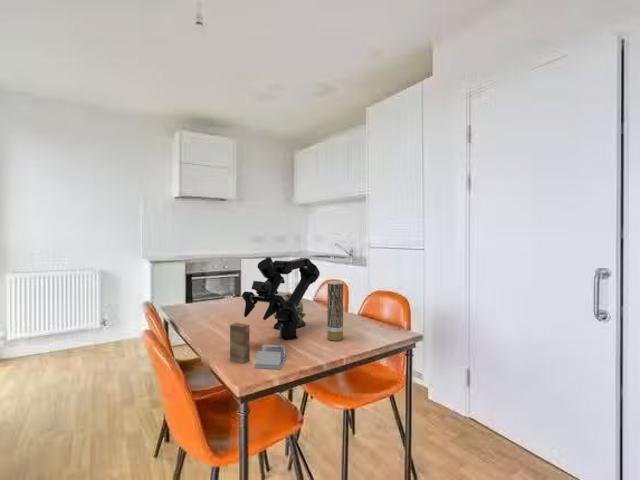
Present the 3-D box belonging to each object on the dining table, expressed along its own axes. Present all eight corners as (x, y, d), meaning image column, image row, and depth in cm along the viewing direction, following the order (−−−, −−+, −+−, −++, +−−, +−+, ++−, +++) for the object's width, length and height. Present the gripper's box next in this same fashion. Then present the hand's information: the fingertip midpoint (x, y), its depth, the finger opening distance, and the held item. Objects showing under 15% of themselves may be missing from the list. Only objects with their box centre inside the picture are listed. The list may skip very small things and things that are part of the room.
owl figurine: (281, 332, 162) (280, 295, 161) (267, 327, 171) (266, 292, 170) (310, 325, 174) (310, 291, 173) (296, 321, 182) (296, 288, 182)
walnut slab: (236, 357, 129) (236, 322, 129) (249, 360, 126) (249, 324, 126) (230, 360, 126) (230, 324, 126) (243, 363, 123) (243, 327, 123)
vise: (265, 353, 133) (265, 340, 133) (288, 354, 132) (288, 341, 132) (254, 367, 119) (254, 353, 119) (280, 369, 118) (280, 354, 118)
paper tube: (342, 336, 156) (342, 280, 155) (343, 341, 149) (344, 283, 148) (326, 336, 155) (327, 280, 155) (327, 341, 149) (328, 283, 148)
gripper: (244, 271, 142) (225, 303, 132) (282, 274, 133) (264, 308, 123) (256, 288, 149) (239, 319, 139) (293, 292, 140) (277, 325, 131)
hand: (254, 318), depth 133 cm, fingers open, 9 cm apart
